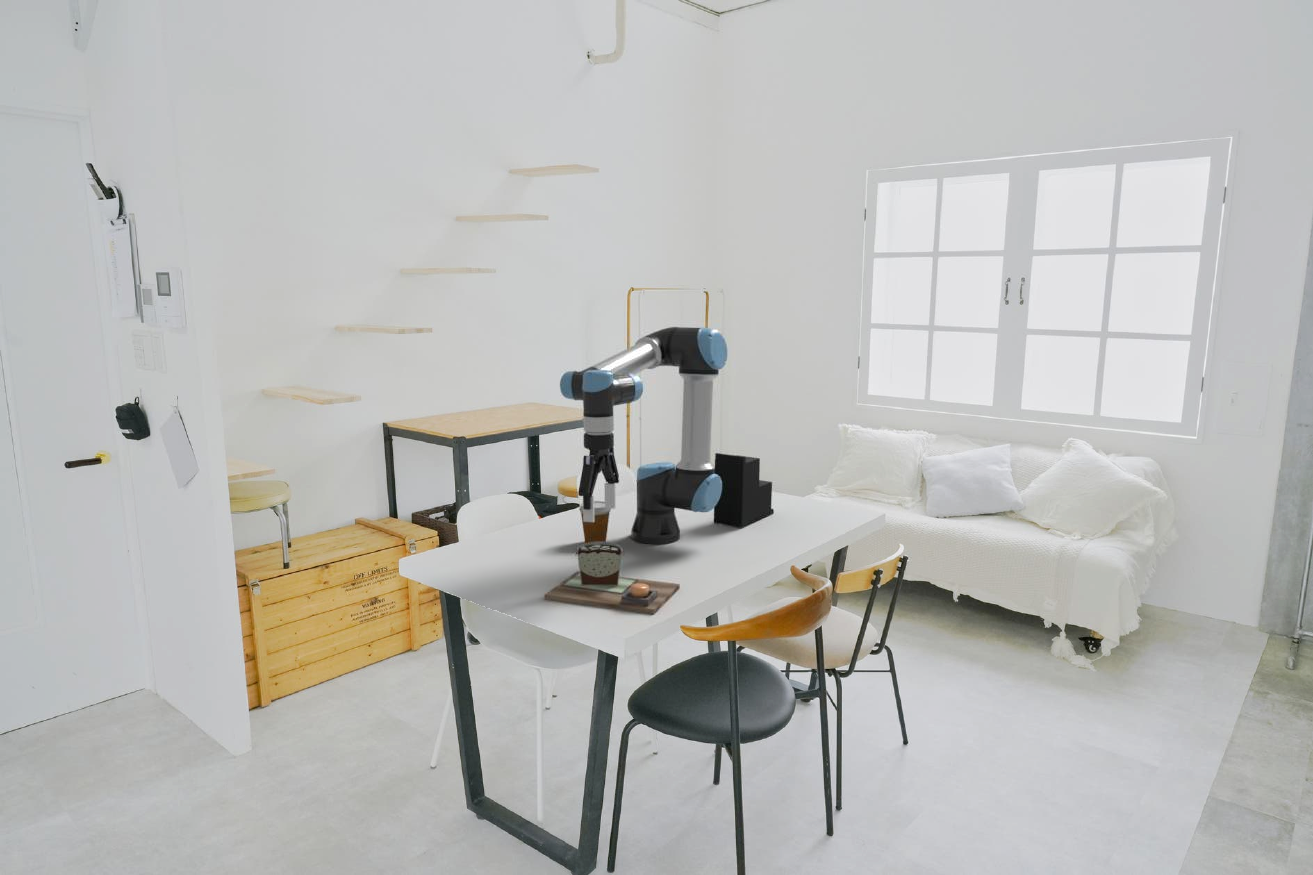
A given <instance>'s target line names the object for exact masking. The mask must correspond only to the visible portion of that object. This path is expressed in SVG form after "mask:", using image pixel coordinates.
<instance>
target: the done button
mask: <svg viewBox="0 0 1313 875" xmlns="http://www.w3.org/2000/svg"><path fill="white" fill-rule="evenodd" d="M648 595H649V586H648V585H647V584H642V583H637V584H633V585H631V596H633V597H646V596H648Z"/></svg>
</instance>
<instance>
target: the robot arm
mask: <svg viewBox="0 0 1313 875" xmlns="http://www.w3.org/2000/svg"><path fill="white" fill-rule="evenodd" d="M727 345H728V344H727V341H726V339H725V337H724V336H723V334H722V332H720V330H718V329H716V328H715V329H714V328H710V327H709V328H708V327H682V326H669V327H667V328H663V329H660V330H657V331H654V332H651V333H649V334H647V335H644V336H642V337H641V338H639V339H638V340H637V341H635V343H634V345H632V346H630V347H628V348H626V349H624V350H622V351H620V352H617V353H616V354H613V355H611V356H610V357H607V358H606V359H603V360H602V361H599V362H598V363H596V364H593V365H592V366H590V367H587V368H585V369H583V370H579V371H577V370H572V371H571V370H570V371H566V372H564V373H563V375H562V376H561V377H560V381H559V389H560V393H561V395H562V396H563V397H564V398H566V399H569V400H574V401H582V403H583V406H582V407H583V416H582V417H583V418H582V420H581V422H583V431H584V433H583V447H584V449H587V450H588V451H589V454H588V455H583V459H582V460H583V461H582V469H581V470H582V471H581V475H580V481H579V486H578V487H579V488H578V492H577V494H578V495H577V496H579V497H582V503H583V521H584V522H595V521H594V501H595V495H593V494H594V492H595V487H596V482H597V480H598V478H599V477H598V476H599V474H600V473H602V475H603V477H604V480H605V483H604V502H605V508H611V510H612V509H613V510H615V509H616V484H619V483H620V478H619V477H620V475H619V474H620V473H619V471H618V466H617V461H616V458H615V452H614V451H615V449H614V446H615V443H614V442H615V438H614V437H615V435H614V433H613V431H614V430H615V426H614V425H615V424H614V422H615V421H614V420H615V419H614V416H615V415H614V406H615V407H616V406H620V405H624V404H631V403H633V402H636V401H638V400H639V399H640V398H641V397H642V395H643V392H644V383H643V381H642V380H641V378H640V377H639V375H636V374H639V373H640V372H642V371H644V370H646V369H647V370H653V369H656V368H657V367H665V366H666V367H678V375H679V376H681V378H682V379H683V390H682V392H683V393H682V420H681V421H682V426H681V427H682V428H681V453H680V461H678V463H676V465H675V463H674V462H671V461H670V462H669V461H667V462H666V461H665V462H664V461H663V462H654V463H653V462H652V463H647V464H644V465H640V466H639V467H638V469H637V471H636V480H635V481H636V515H635V518H634V521H633V523H632V527H631V531H630V534H631V535H630V538H631V539H632V540H633V541H636V542H638V543H641V544H651V545H652V544H653V545H654V544H655V545H658V544H659V545H661V544H671V543H675V542H677V541H678V540H680V539H681V529H680V526H679V523H678V520H677V517H676V511H675V510H676V509H678V510H685V511H689V512H690V511H691V512H694V513H697V512H698V513H708V512H711V511H712V510H714V507H715V506H716V504H717V503H718V501H719V498H720V496H721V492H722V481H721V478H720V476H718V475H717V474H715V464H714V463H712V462H711V448H712V446H711V444H712V439H711V438H712V416H713V392H714V380H715V379H716V378H717V377H718V376H719V374H720V373H719V371H720V370H721V369H723V368H724V367H725V365H726V362H727V359H728V346H727Z"/></svg>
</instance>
